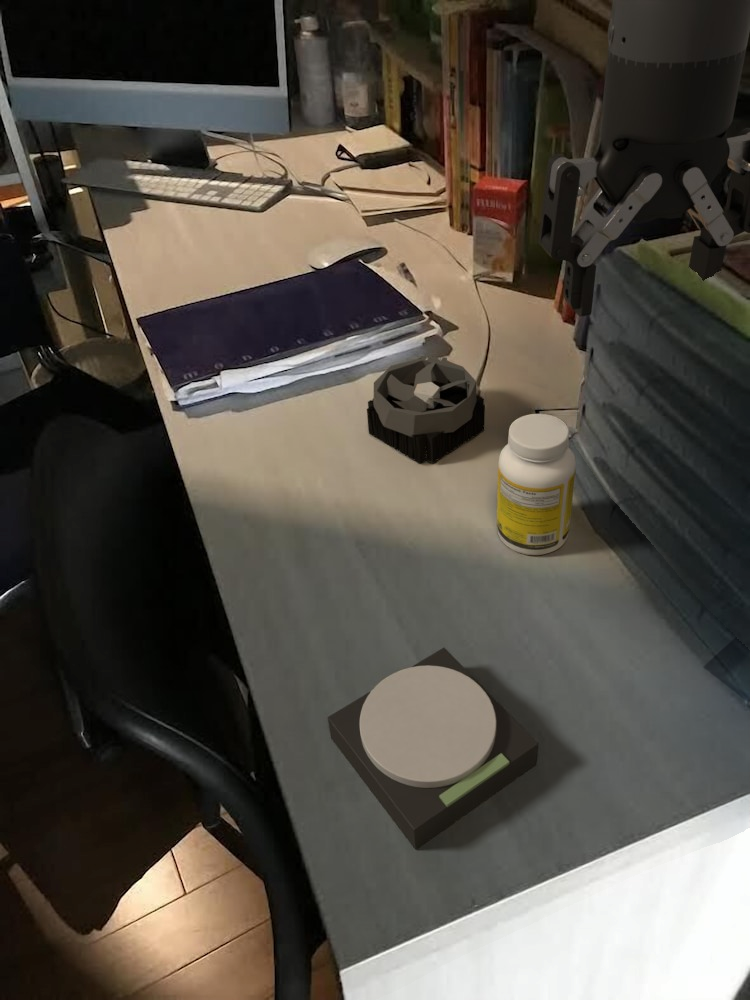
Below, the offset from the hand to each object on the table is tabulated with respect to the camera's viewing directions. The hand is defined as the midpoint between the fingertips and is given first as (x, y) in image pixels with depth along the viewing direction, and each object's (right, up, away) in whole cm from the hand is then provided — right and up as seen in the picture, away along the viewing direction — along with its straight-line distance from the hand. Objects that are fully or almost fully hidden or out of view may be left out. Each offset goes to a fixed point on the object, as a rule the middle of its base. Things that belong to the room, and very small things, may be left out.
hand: (639, 302), depth 58 cm
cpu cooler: (-13, -7, +27) cm, 31 cm away
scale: (-14, -31, -1) cm, 34 cm away
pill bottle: (-5, -17, +15) cm, 23 cm away
